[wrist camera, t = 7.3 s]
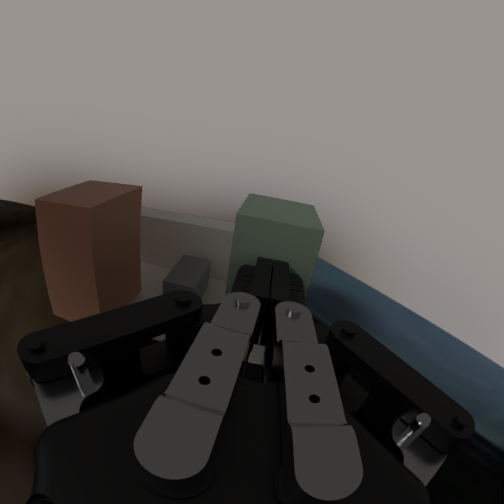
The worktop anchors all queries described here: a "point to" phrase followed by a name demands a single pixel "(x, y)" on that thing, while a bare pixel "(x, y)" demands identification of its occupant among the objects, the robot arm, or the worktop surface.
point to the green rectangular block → (276, 236)
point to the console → (186, 258)
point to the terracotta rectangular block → (90, 247)
